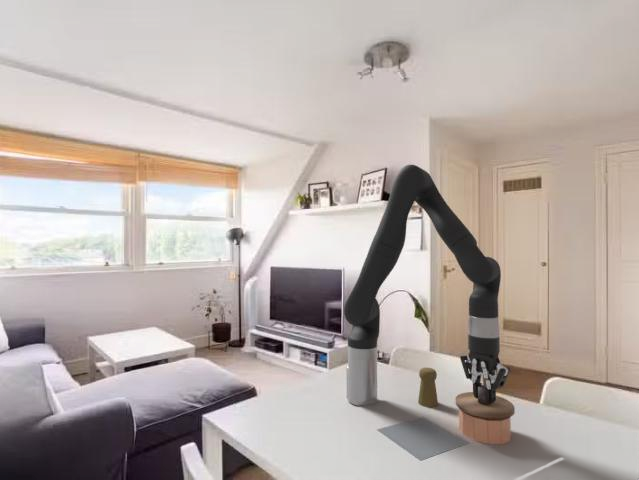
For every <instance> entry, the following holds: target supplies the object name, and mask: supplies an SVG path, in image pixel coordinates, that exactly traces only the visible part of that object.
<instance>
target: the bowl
mask: <svg viewBox="0 0 639 480" xmlns="http://www.w3.org/2000/svg"><path fill="white" fill-rule="evenodd" d="M458 429H459V430H460V432H461V433H462V434H463V436H465V437H467V438H469V439H471V440H473V441H475V442H478V443H482V444H483V443H484V444H487V445H502V444H505V443H509V442H510V441H511V437H512V416H511V417H509V418H504V419H489V418H482V417H478V416H474V415H471V414H468V413H466V412H464V411H462V410H461V409H459V408H458Z"/></svg>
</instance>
